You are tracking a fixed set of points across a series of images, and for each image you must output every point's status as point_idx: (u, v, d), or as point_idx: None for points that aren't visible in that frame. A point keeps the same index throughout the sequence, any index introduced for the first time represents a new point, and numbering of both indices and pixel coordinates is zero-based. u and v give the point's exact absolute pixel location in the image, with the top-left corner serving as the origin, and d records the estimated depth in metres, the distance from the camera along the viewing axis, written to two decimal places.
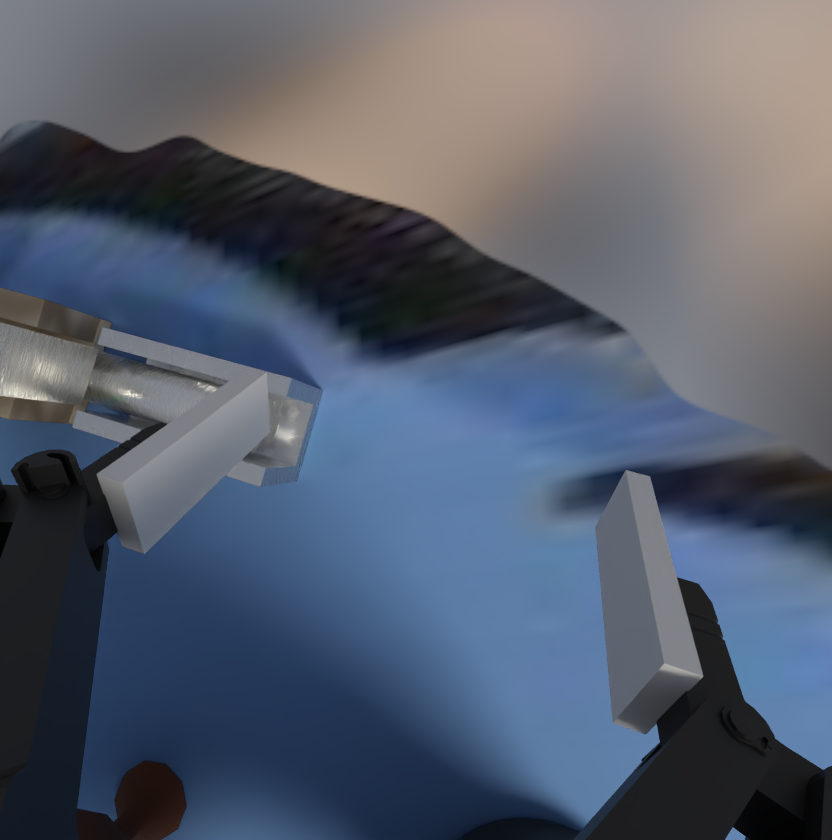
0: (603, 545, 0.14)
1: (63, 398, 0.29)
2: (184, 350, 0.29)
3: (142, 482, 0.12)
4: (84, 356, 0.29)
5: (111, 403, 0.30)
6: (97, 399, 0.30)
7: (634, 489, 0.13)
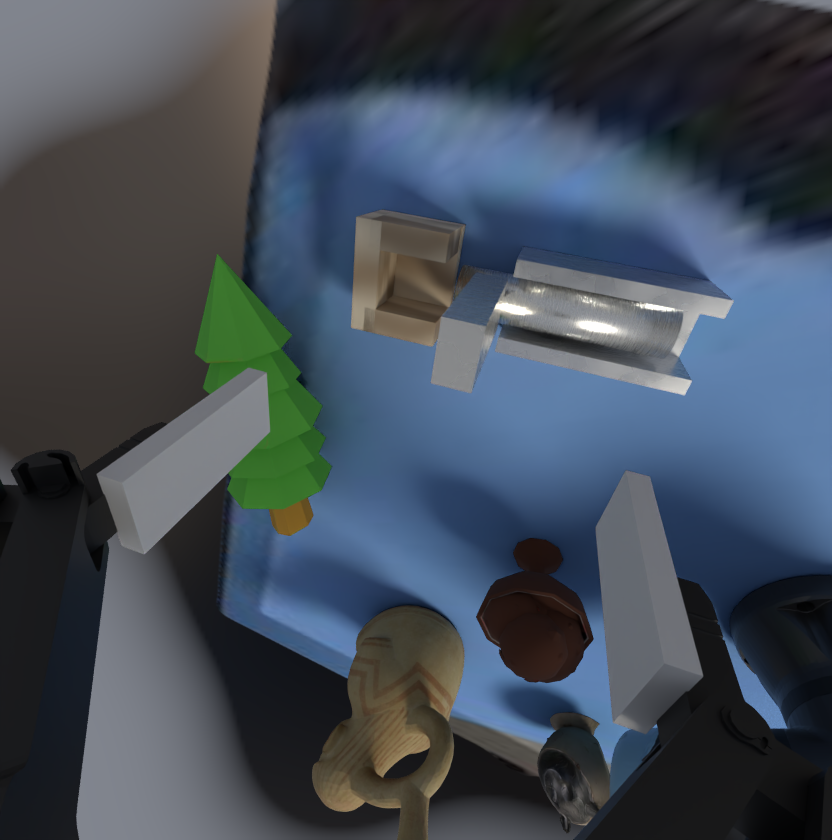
0: (603, 545, 0.14)
1: (494, 333, 0.33)
2: (610, 278, 0.30)
3: (142, 482, 0.12)
4: (504, 291, 0.32)
5: (520, 325, 0.34)
6: (506, 322, 0.34)
7: (634, 489, 0.13)
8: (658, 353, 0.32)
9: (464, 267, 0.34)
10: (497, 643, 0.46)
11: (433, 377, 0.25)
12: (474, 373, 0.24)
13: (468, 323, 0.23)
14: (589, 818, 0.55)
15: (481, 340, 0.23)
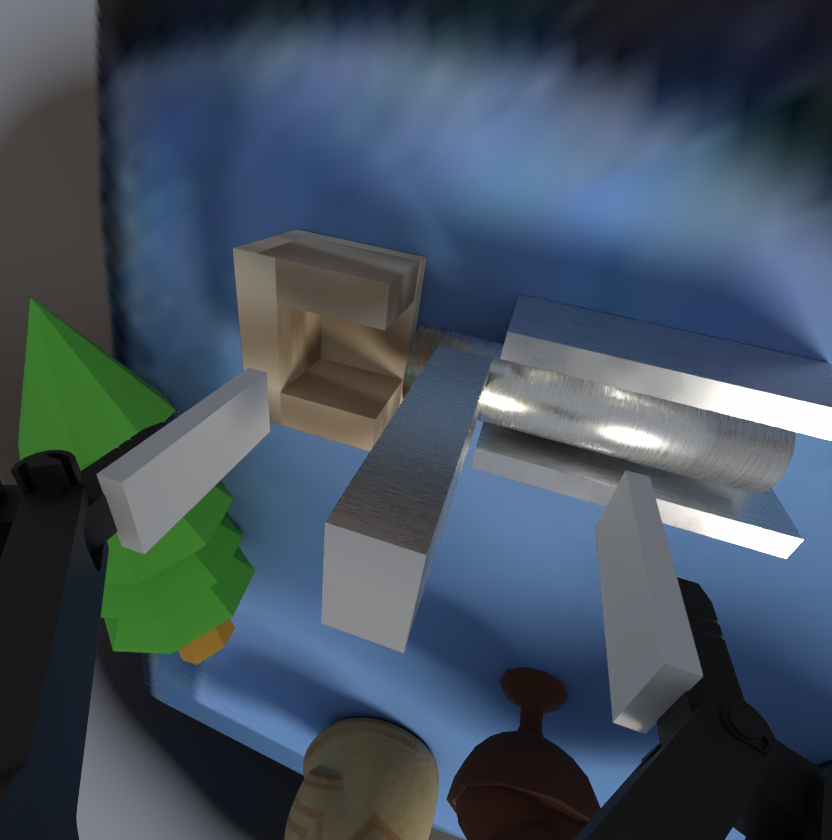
0: (603, 544, 0.14)
1: (468, 447, 0.19)
2: (675, 373, 0.16)
3: (142, 482, 0.12)
4: (485, 382, 0.18)
5: (512, 428, 0.21)
6: (490, 422, 0.21)
7: (634, 489, 0.13)
8: (744, 489, 0.19)
9: (421, 332, 0.20)
10: None
11: (325, 616, 0.12)
12: (407, 625, 0.11)
13: (385, 543, 0.10)
14: None
15: (418, 577, 0.10)
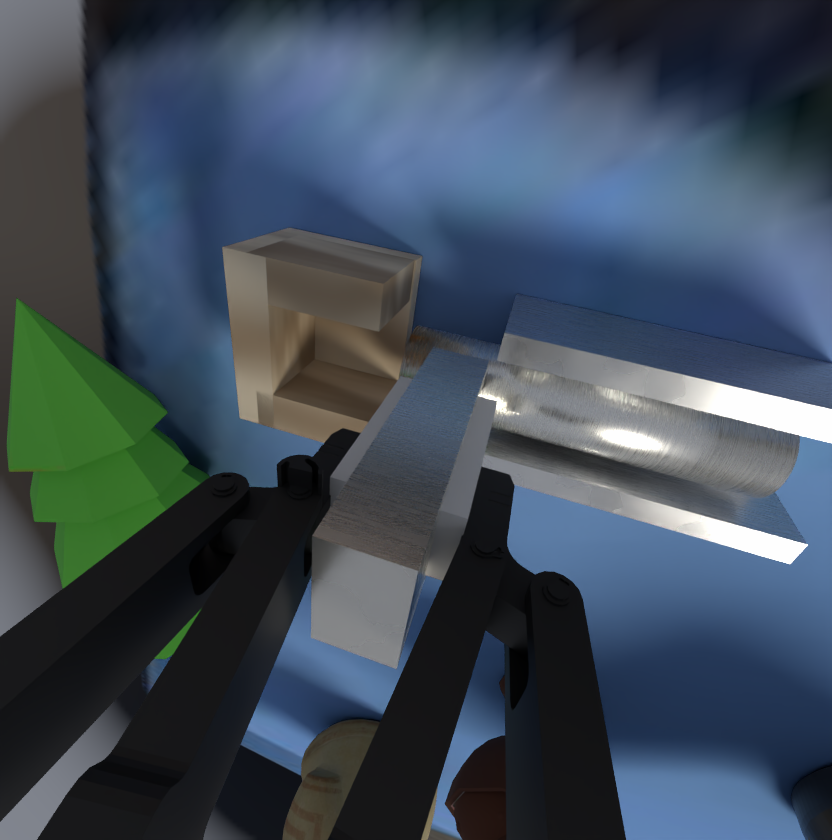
0: None
1: None
2: (677, 375, 0.16)
3: None
4: (482, 385, 0.18)
5: (509, 431, 0.20)
6: None
7: (478, 408, 0.16)
8: (747, 493, 0.18)
9: (416, 333, 0.20)
10: None
11: (315, 630, 0.11)
12: (400, 641, 0.11)
13: (375, 558, 0.09)
14: None
15: (409, 593, 0.10)
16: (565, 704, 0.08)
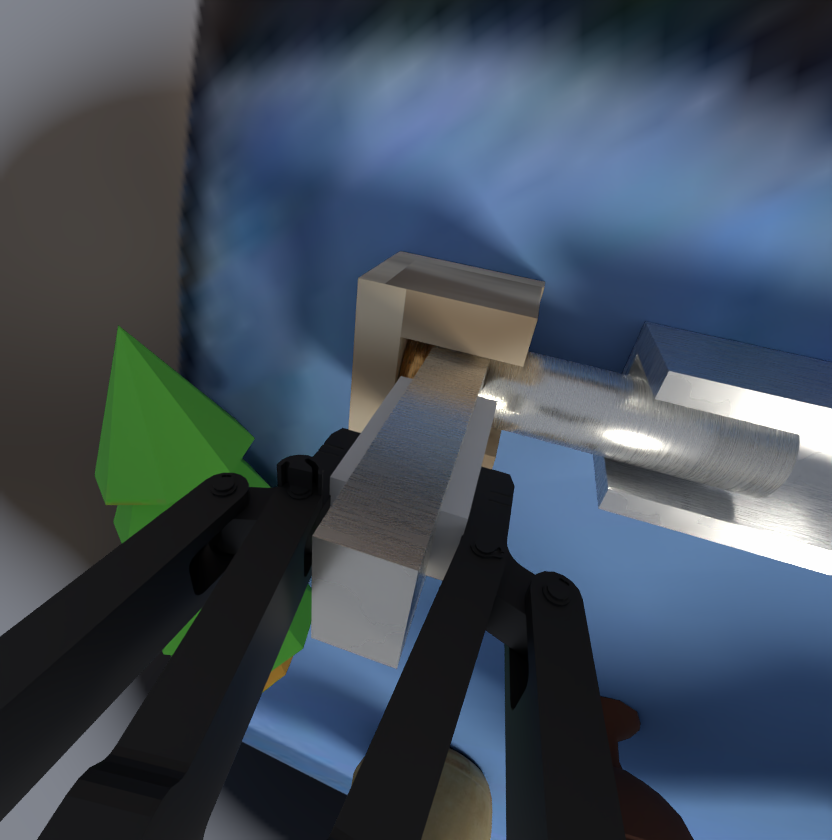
0: None
1: None
2: None
3: None
4: (482, 384, 0.18)
5: (509, 431, 0.20)
6: None
7: (478, 408, 0.16)
8: (747, 492, 0.18)
9: None
10: None
11: (315, 630, 0.11)
12: (400, 641, 0.11)
13: (375, 558, 0.09)
14: None
15: (410, 592, 0.10)
16: (565, 704, 0.08)
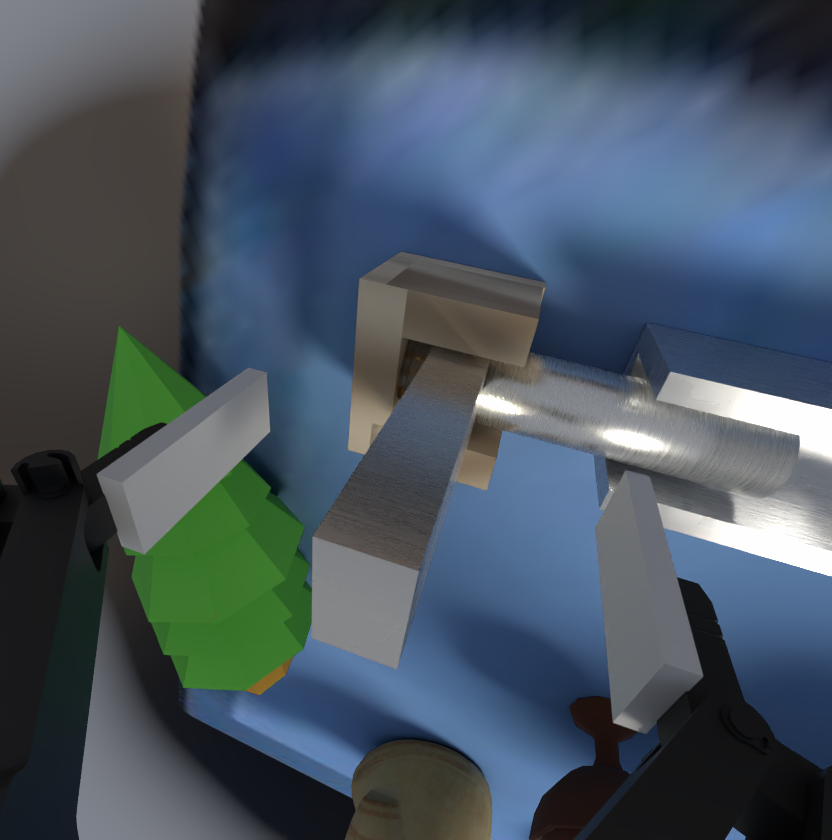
0: (603, 544, 0.14)
1: (465, 450, 0.19)
2: None
3: (142, 482, 0.12)
4: (482, 385, 0.18)
5: (510, 431, 0.20)
6: (487, 425, 0.20)
7: (634, 489, 0.13)
8: (748, 493, 0.18)
9: None
10: None
11: (315, 630, 0.11)
12: (400, 642, 0.11)
13: (375, 558, 0.09)
14: None
15: (410, 593, 0.10)
16: None
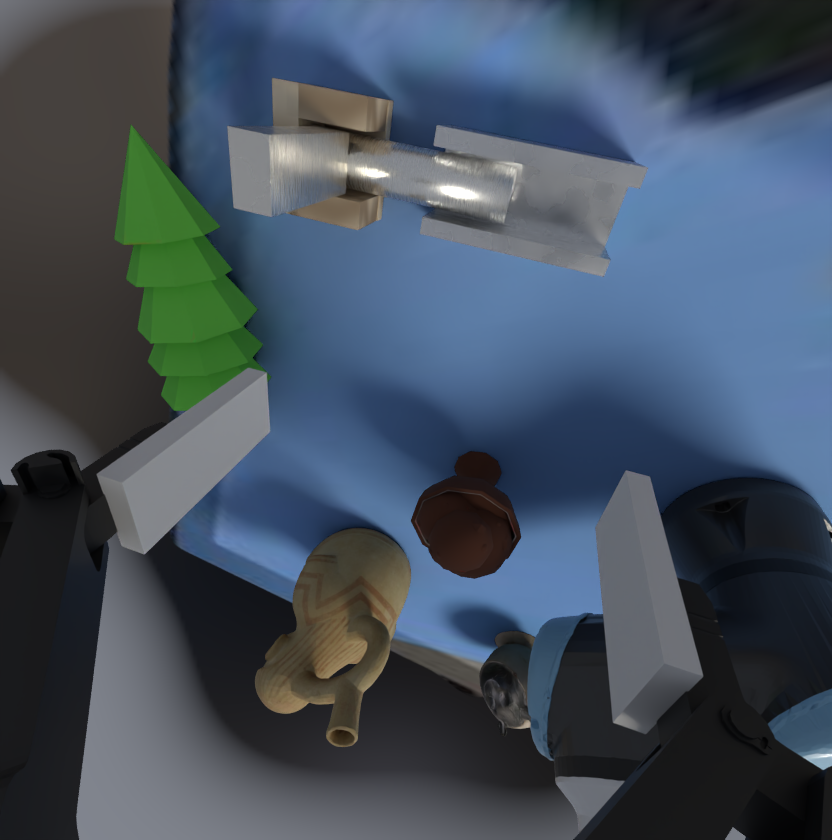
0: (603, 544, 0.14)
1: (338, 191, 0.33)
2: (529, 145, 0.29)
3: (142, 482, 0.12)
4: (343, 144, 0.31)
5: (368, 188, 0.34)
6: (355, 185, 0.34)
7: (634, 489, 0.13)
8: (496, 214, 0.32)
9: (312, 125, 0.33)
10: None
11: (234, 200, 0.25)
12: (270, 193, 0.24)
13: (252, 132, 0.23)
14: (523, 721, 0.58)
15: (268, 152, 0.23)
16: None
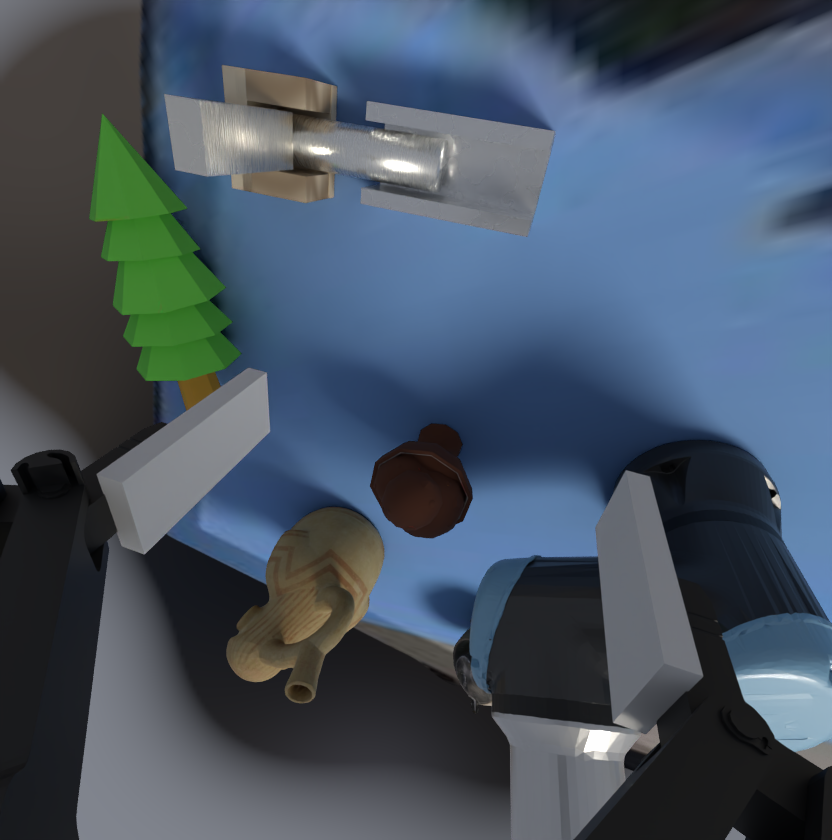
0: (603, 545, 0.14)
1: (284, 166, 0.36)
2: (449, 115, 0.32)
3: (142, 482, 0.12)
4: (287, 122, 0.35)
5: (314, 163, 0.37)
6: (302, 162, 0.37)
7: (634, 489, 0.13)
8: (428, 182, 0.35)
9: None
10: None
11: (175, 163, 0.28)
12: (204, 153, 0.28)
13: (185, 98, 0.26)
14: None
15: (200, 116, 0.26)
16: None
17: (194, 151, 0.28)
